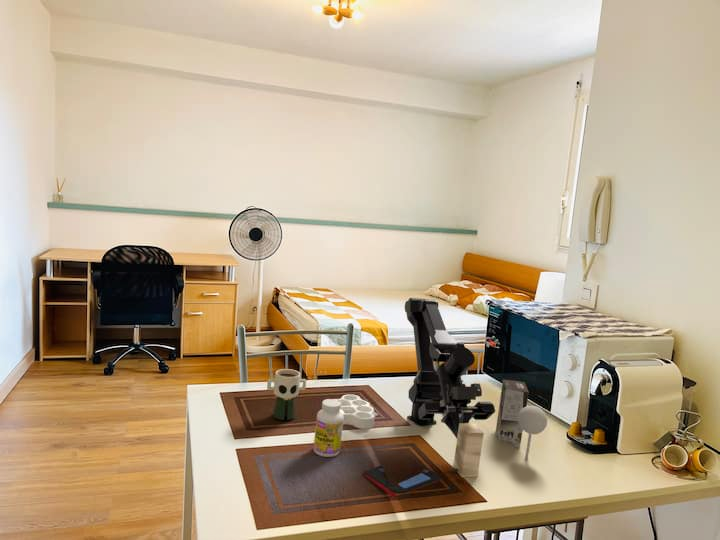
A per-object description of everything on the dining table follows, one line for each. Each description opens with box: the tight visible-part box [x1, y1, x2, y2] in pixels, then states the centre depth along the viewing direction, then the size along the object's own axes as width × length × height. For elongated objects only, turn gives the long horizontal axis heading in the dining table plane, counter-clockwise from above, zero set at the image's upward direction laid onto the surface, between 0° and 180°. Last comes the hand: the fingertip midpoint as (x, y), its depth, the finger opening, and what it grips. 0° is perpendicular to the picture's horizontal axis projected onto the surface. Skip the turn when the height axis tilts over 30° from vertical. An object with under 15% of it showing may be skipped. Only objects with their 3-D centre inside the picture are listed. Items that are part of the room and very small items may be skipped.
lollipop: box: [518, 405, 548, 460], centre depth 133 cm, size 7×7×15 cm
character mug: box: [266, 368, 307, 421], centre depth 144 cm, size 11×7×13 cm, turn 106°
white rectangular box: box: [449, 422, 485, 478], centre depth 121 cm, size 5×6×11 cm
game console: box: [362, 465, 441, 499], centre depth 119 cm, size 14×13×2 cm
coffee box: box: [495, 379, 530, 448], centre depth 145 cm, size 9×6×16 cm
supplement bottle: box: [313, 398, 344, 458], centre depth 127 cm, size 7×7×13 cm
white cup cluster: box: [333, 393, 379, 430], centre depth 151 cm, size 3×18×15 cm
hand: (463, 444), depth 124 cm, fingers closed
